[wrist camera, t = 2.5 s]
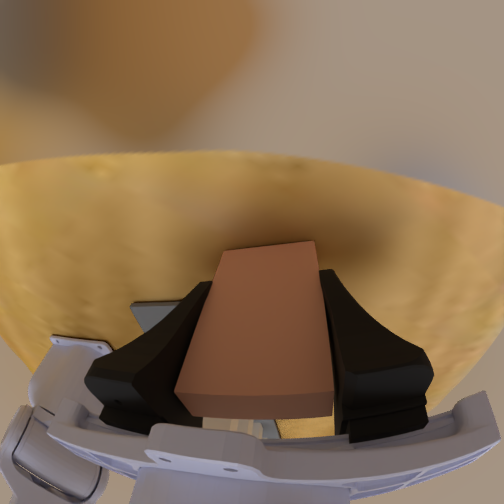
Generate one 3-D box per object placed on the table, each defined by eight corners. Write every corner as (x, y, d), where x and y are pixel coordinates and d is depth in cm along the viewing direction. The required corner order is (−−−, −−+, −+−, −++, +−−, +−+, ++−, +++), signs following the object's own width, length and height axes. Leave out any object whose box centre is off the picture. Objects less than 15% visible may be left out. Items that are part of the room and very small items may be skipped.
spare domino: (231, 277, 17) (192, 416, 9) (223, 250, 16) (173, 391, 8) (316, 268, 16) (332, 415, 8) (314, 240, 15) (334, 390, 7)
